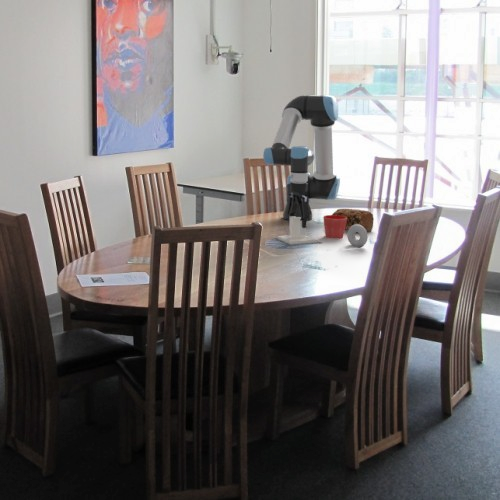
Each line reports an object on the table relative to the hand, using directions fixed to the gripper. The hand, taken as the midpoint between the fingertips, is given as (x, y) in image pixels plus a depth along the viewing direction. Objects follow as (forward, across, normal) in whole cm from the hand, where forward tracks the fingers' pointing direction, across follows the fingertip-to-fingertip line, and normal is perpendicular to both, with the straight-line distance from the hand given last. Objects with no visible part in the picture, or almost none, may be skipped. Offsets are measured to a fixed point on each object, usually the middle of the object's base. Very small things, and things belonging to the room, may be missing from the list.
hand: (297, 232), depth 356 cm
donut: (+4, +19, +19) cm, 27 cm away
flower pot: (+4, -2, +20) cm, 21 cm away
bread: (+4, -17, +38) cm, 42 cm away
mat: (+4, 0, 0) cm, 4 cm away
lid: (+3, 0, 0) cm, 3 cm away
